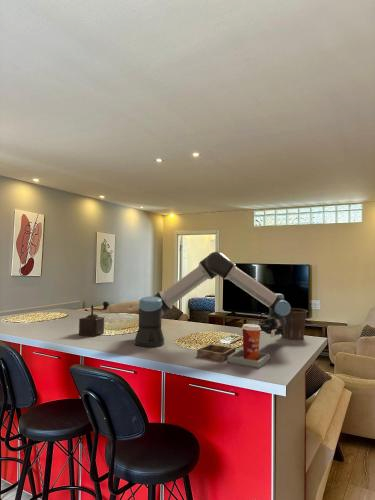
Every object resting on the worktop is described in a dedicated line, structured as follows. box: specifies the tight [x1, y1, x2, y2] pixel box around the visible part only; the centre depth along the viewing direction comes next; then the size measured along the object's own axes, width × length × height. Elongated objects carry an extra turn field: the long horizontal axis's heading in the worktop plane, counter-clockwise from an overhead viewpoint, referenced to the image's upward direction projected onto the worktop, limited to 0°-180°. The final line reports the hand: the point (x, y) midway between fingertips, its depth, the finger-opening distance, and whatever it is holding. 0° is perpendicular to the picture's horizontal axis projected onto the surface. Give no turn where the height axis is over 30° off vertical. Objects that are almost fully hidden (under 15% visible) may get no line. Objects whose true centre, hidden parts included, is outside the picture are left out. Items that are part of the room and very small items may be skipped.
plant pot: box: [281, 307, 309, 341], centre depth 198 cm, size 16×16×16 cm
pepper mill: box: [78, 301, 110, 338], centre depth 197 cm, size 16×11×18 cm
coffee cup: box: [241, 323, 261, 361], centre depth 148 cm, size 8×8×15 cm
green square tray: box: [227, 349, 271, 369], centre depth 148 cm, size 14×14×2 cm
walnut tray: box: [196, 343, 236, 362], centre depth 156 cm, size 13×13×3 cm
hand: (257, 332), depth 157 cm, fingers open, 13 cm apart
